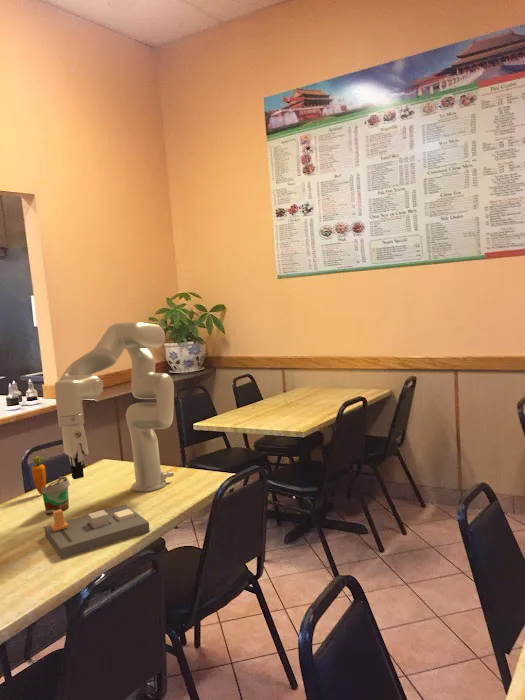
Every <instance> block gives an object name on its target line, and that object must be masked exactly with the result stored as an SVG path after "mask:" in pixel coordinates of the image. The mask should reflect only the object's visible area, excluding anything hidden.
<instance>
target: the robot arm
mask: <svg viewBox="0 0 525 700" xmlns="http://www.w3.org/2000/svg"><path fill="white" fill-rule="evenodd" d="M165 340H166V333H165V330H164V329H163V328H162V326H161V325H159V324H154V323H149V322H148V323H146V322H142V321H141V322H139V321H127V322H118V323H113V324H111V325H110V326H109V327H108V328H107V329H106V330H105V332H104V333H103V335H102V336H101V338H100V339H99V341H98V343H97V344H96V345H95V346H94V348H93V349H92V350H90V351H88V352H87V353H85V354H83V355H82V356H80V357H79V358H77V359H76V360H75V361H73V362H72V363H71V364H70V365H69V366H68V367H67V368H66V369H65V370H64V372H63V373H62V375H61V376H60V379H59V380H57V381H55V383H54V396H55V405H56V411H57V413H56V414H57V420H58V421H57V422H58V427H59V428H61V433H62V434H61V436H62V437H61V438H62V445H63V452H64V454H65V455H67V456H68V459H69V464H70V472H71V478H72V479H73V480H77V479H78V480H79V479H82V478H84V476H85V475H84V466H83V462H84V457H83V455H84V456H86V457H87V456H89V447H88V441H87V435H86V431H85V426H84V424H85V414H84V407H83V406H84V405H83V401H84V400H92V399H93V400H94V399H95V398H97V397H99V396H100V395H101V394H102V393H103V390H104V382H103V380H102V379H101V378H100V377H99V376H98V375H95V373H99V372H102V371H104V370H105V371H106V369H109V368H111V367H113V366H115V364H116V362H117V361H118V359H120V357H121V355H122V354H123V352H124V350H126V351H127V353H128V354H129V357H130V360H131V385H130V386H131V394H132V396H133V397H134V398H135V399H140V400H156V402H136V403H135V402H134V403H133V404H131V405H129V406H128V407H127V408H126V412H125V419H126V423H127V427H128V430H129V435H130V442H131V451H132V459H133V468H134V475H135V477H134V478H135V482H133V483H132V486H131V489H132V490H133V491H134V492H141V493H144V492H152V491H157V490H160V489H162V488H164V487H166V486H167V480H166V479H167V478H171V477H175V475H174V471H173V470H171V471H167V470H166V471H162V470H161V460H160V459H161V458H160V450H159V441H158V436H157V435H156V432H155V430H164V429H165V430H166V429H168V428H169V427H171V425H172V423H173V420H174V407H175V406H174V405H175V404H174V403H175V384H174V380H173V378H172V377H171V375H169V374H168V373H165V372H156V359H155V357H154V354H153V353H152V351H151V350H150V349H158V348H160V347H162V346H163V344H164V343H165Z"/></svg>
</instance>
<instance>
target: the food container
mask: <svg viewBox="0 0 525 700" xmlns="http://www.w3.org/2000/svg"><path fill="white" fill-rule="evenodd" d="M70 485H71V483H70V480H69V479H68V477H67V476H62V475H60V476H59V477H58V479H57V480H55V481H53V482H51V483H50V484H48V485H47V486H45V487H41V494H42V498H43V503H44V509H45V513H46V515H47V516H51V515H53V511H56V510H59V509H61V510H62V511H63V513H64V512H66V511H68V510H69V509H70V505H69V504H70V502H69V501H70V499H69V487H70ZM41 494H40V495H41Z"/></svg>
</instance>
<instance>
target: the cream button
mask: <svg viewBox="0 0 525 700" xmlns="http://www.w3.org/2000/svg"><path fill="white" fill-rule="evenodd" d="M114 516H115V519H116V520H117V521H118V522H120V521H123V520H127V519H130V518H133V517H135V516H134V512H132V511H131V510H130V509H126V510H123V511H119V512H115V513H114Z"/></svg>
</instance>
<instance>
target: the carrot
mask: <svg viewBox="0 0 525 700" xmlns="http://www.w3.org/2000/svg"><path fill="white" fill-rule="evenodd" d="M43 459H44V456H42V457H40V456H38V455H36V456H34V457H33V461H34V464H35V465H34V466H32V467H31V473H32V475H31V476H32V480H33V483H34V485H35V488H36V490H37V492H38V493H39V494H40V495H41V496H43V494H41V487H47V486H46V485H47V473H46V466H45V465H44V464H41V462H42V460H43Z"/></svg>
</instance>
